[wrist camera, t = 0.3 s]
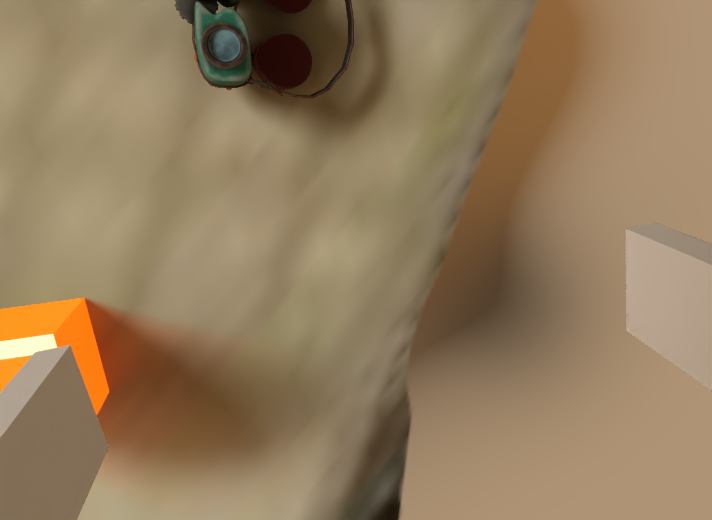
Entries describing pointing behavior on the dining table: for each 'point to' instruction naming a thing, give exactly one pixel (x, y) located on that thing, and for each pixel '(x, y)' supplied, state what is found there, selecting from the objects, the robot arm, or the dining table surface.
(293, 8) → the binoculars
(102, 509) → the dining table surface
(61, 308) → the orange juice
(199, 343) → the dining table surface
